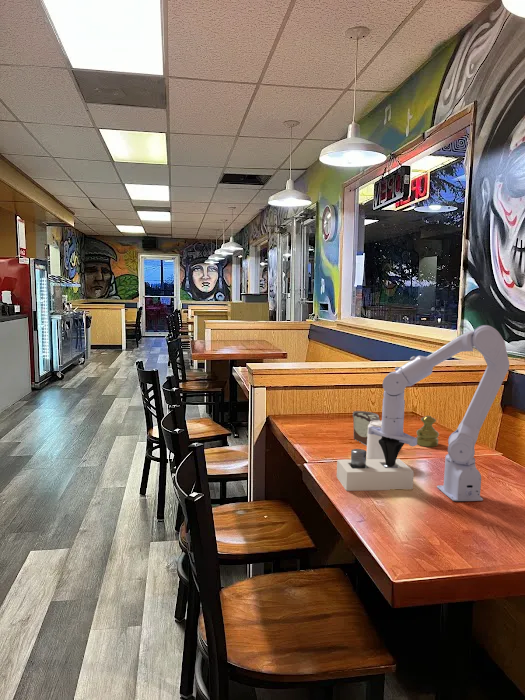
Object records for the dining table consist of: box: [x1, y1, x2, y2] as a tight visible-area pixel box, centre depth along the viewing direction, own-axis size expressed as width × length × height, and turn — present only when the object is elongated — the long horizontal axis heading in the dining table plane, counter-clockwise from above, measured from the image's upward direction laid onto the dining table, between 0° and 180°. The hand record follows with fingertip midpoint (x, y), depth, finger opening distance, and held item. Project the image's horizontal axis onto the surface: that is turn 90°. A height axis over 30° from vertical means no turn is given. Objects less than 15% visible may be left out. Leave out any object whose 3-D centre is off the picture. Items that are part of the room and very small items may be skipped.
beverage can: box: [366, 419, 385, 459], centre depth 154 cm, size 8×8×12 cm
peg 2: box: [383, 463, 398, 468], centre depth 136 cm, size 4×4×4 cm
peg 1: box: [350, 448, 367, 469], centre depth 135 cm, size 4×4×4 cm
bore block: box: [336, 458, 415, 492], centre depth 136 cm, size 10×18×5 cm, turn 96°
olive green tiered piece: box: [415, 415, 440, 448], centre depth 174 cm, size 7×7×10 cm
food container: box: [352, 410, 380, 447], centre depth 174 cm, size 12×6×10 cm, turn 22°
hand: (390, 465), depth 136 cm, fingers closed, pressing on peg 2
